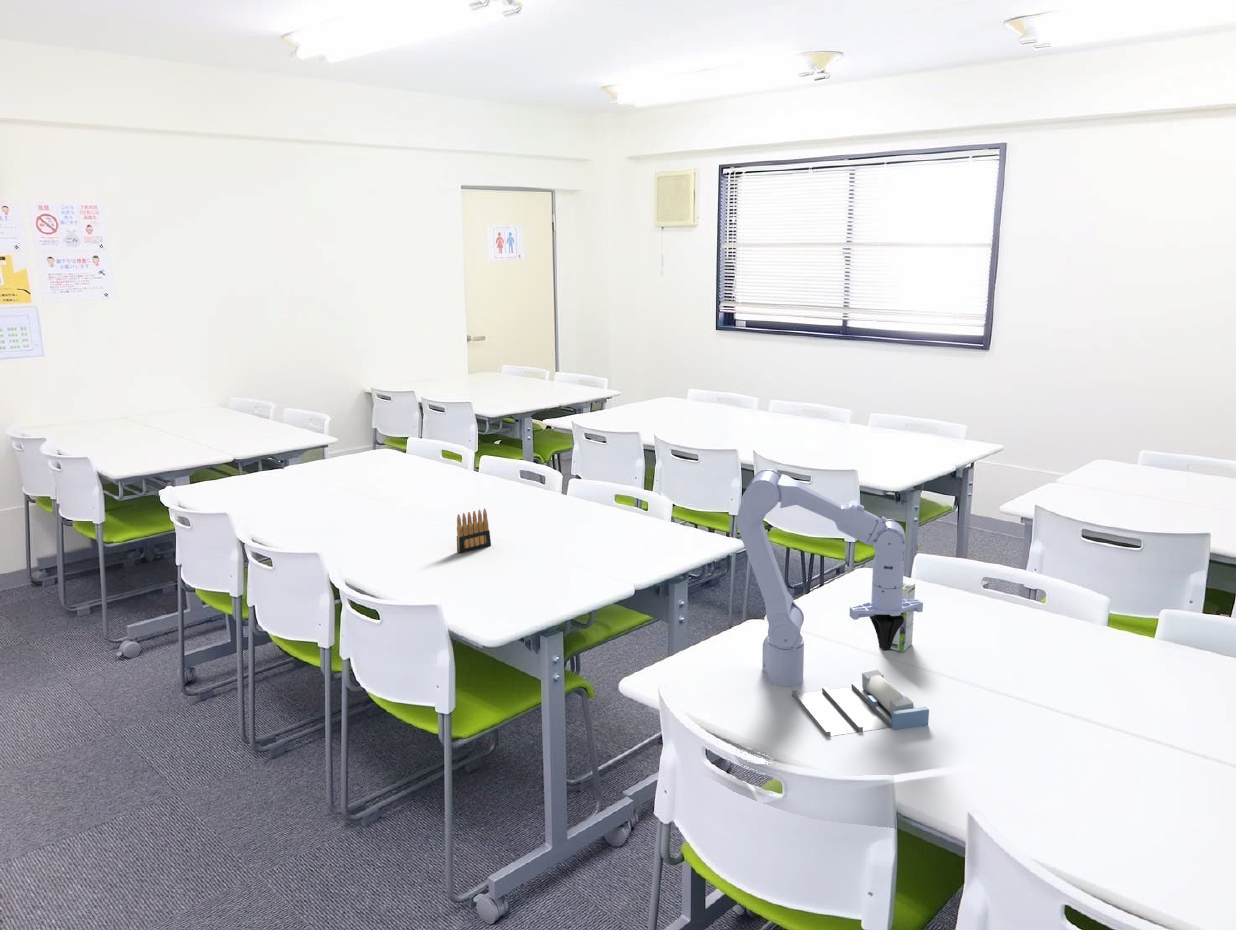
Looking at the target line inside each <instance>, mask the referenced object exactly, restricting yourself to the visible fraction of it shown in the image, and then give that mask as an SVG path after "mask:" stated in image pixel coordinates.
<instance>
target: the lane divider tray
mask: <svg viewBox="0 0 1236 930" xmlns="http://www.w3.org/2000/svg"><path fill="white" fill-rule="evenodd" d="M821 688H822V689H821V691H813V692H812V691H811V692H806V693H805V692H804V693H800V692H798V690H796V689H795V690H791V694H792V695H791V696H792V697H793V698H794V699H795V701H796V702H797V703H798V704H799V705H800V706H801V708H802V709H803V710H804V711H805V713H806V714H807V715H808V717H809V718H810V719H811V720H812V721H813V722H814V724H815V725H816V726H817V727H818V728H819V729H820V731H821V732H822V733H823V735H825V737H828V738H829V737H834V736H841V735H848V734H855V733H856V734H857V733H862V732H868V731H869V732H870V731H875V730H882V729H883V730H884V729H889V728H890V729H892V730H893V731H898V730H905V729H906V730H907V729H912V728H918V727H927V726H929V720H930V719H929V715H930V708H928V707H927V706H923V707H922V706H921V707H915V706H914V708H913V709H906V710H899V711H892V717H891V714H890V713H889V712H888V711H887V710H886V709H885V708H884V707H883V706H882V705H881V704H880V703H879V702H878V701H877V700H876V699H875V698H874V697H873V696H872V695H871V694H868V693H867V692H866V691H865V690H864V689H863V686H862V685H858V684H857V682H852V683H851V686H850V687H843V688H836V689H829V688H828V687H827V686H822V687H821ZM898 692H899V693H900V694H901V695H902V696H903V697H908V696H907V695H906V694H905V693H904V692H903V691H898Z"/></svg>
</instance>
